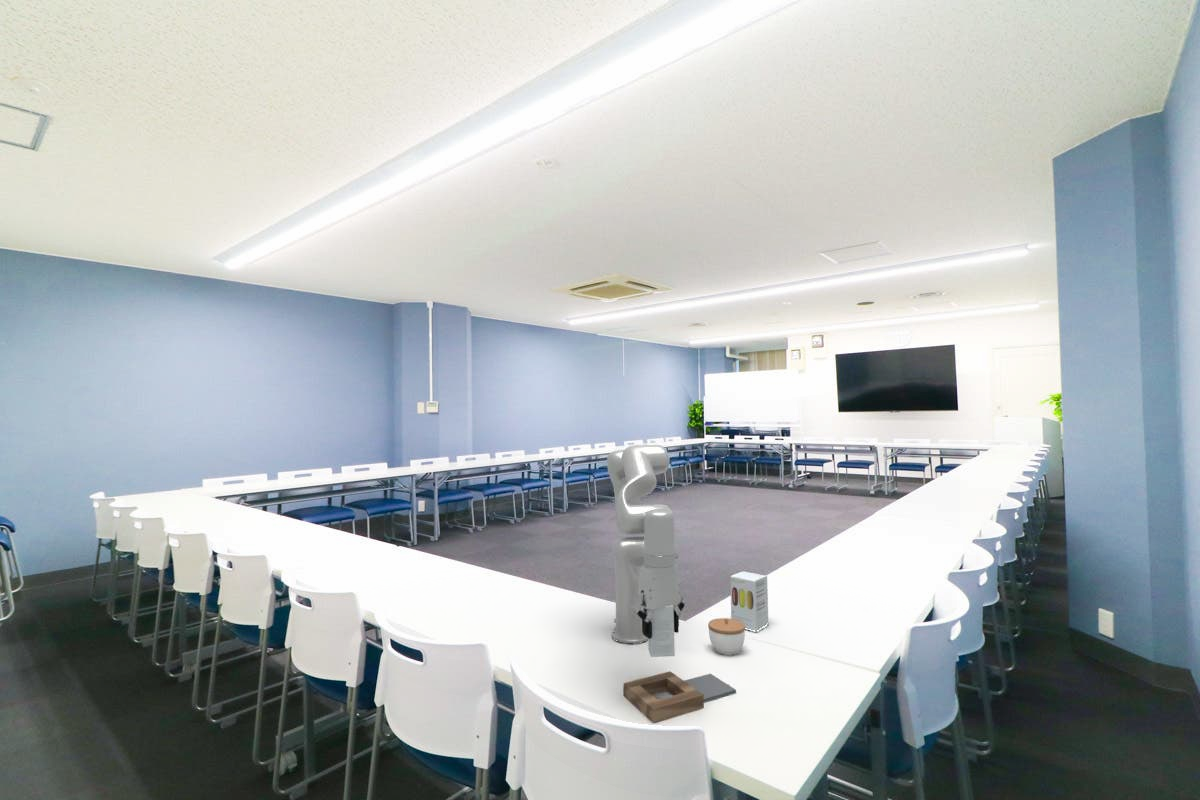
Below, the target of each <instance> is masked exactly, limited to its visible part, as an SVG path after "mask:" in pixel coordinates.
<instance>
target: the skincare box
mask: <svg viewBox="0 0 1200 800" xmlns="http://www.w3.org/2000/svg"><path fill="white" fill-rule="evenodd" d="M650 621H651V622H652V638H651V639H649V638H648V640H647V641H648V643H647V644H648V645H647V646H648V652H649V655H650V657H651V658H655V657H656V658H658V657H662V658H663V657H675V654H676V652H675V651H676V650H675V648H676V647H675V632H674V607H673V605H669V606H665V607H664V608H662V609H658V610H653V613H652V615H651V618H650Z"/></svg>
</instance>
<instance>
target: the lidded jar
mask: <svg viewBox="0 0 1200 800" xmlns="http://www.w3.org/2000/svg"><path fill="white" fill-rule="evenodd" d="M707 626H708V635H709V641H710V643H711V645H712V647H714V649H715V650H716V652H717V653H719V654H721V653H722V654H721V655H724V654H728V655H727V656H732V654H734V655H737V654H738V653H737V652H739V651H740V650H741V649H742V648H743V645H744V642H745V639H746V638H745V637H746V636H745V635H746V634H745V633H746V630H745V625H744V624H743V623H742V622H740V621H737V620H734V619H731V618H728V617H727V618H726V617H722V618H721V617H719V618H714V619H711V620H710V621H709V622H708V624H707Z"/></svg>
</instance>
